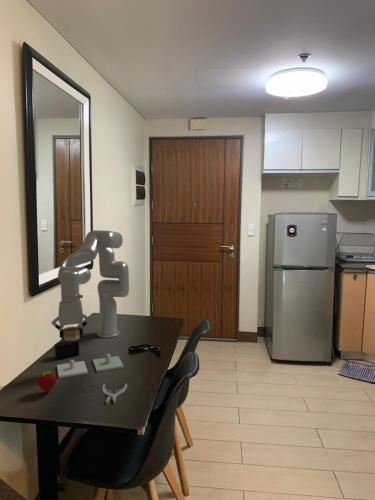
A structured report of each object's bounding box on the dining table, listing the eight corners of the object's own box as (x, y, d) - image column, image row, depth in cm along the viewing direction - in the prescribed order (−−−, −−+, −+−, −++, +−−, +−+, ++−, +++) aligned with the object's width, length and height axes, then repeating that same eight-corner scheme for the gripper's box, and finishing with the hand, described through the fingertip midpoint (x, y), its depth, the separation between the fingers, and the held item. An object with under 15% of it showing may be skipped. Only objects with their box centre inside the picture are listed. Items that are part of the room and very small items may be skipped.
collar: (62, 336, 166) (62, 327, 166) (78, 334, 169) (78, 325, 168) (63, 341, 160) (63, 332, 159) (80, 339, 162) (80, 331, 162)
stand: (57, 366, 169) (56, 357, 168) (84, 362, 174) (83, 353, 173) (58, 378, 158) (58, 368, 157) (87, 373, 163) (87, 363, 162)
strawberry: (54, 396, 143) (54, 371, 142) (34, 396, 143) (34, 371, 142) (59, 388, 149) (58, 364, 148) (40, 388, 149) (39, 365, 147)
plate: (92, 361, 175) (92, 351, 174) (118, 357, 180) (118, 347, 179) (96, 372, 164) (96, 361, 164) (123, 368, 169) (123, 357, 168)
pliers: (127, 381, 153) (124, 400, 139) (127, 385, 154) (124, 404, 139) (103, 382, 153) (97, 401, 138) (103, 385, 153) (97, 405, 138)
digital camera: (75, 352, 187) (75, 338, 186) (79, 355, 182) (79, 341, 181) (54, 356, 180) (54, 342, 180) (58, 360, 176) (57, 346, 175)
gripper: (89, 294, 169) (90, 332, 171) (48, 298, 162) (50, 337, 164) (92, 298, 162) (92, 338, 164) (49, 302, 155) (51, 343, 157)
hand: (71, 337), depth 164 cm, fingers closed on collar, 7 cm apart
